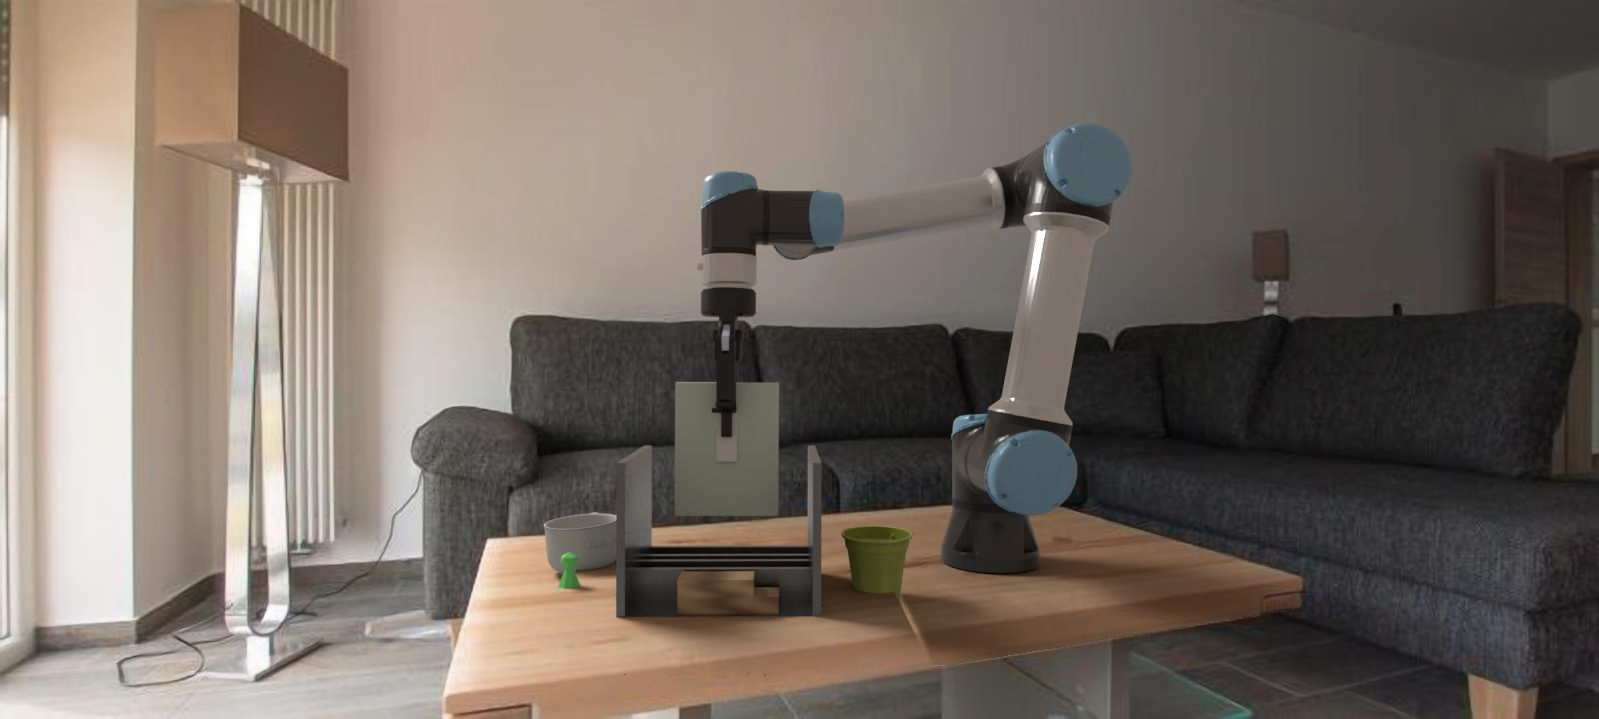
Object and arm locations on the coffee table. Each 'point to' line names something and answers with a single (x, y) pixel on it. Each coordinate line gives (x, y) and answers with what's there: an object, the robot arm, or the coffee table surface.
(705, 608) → the offcut lower
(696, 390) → the sage panel
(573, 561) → the game piece
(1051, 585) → the coffee table surface
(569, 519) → the teacup
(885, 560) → the plant pot
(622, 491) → the rack
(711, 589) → the offcut upper
